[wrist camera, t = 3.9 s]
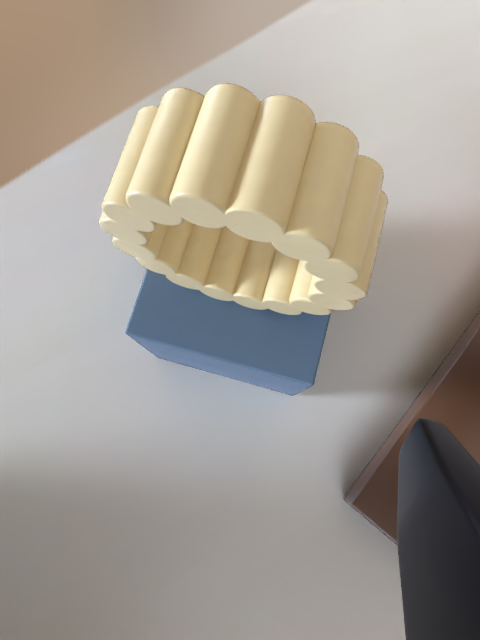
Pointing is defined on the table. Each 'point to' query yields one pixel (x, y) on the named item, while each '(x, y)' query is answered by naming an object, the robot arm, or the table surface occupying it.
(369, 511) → the stand
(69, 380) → the table surface
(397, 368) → the table surface
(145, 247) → the cream fluted ring
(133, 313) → the blue block
